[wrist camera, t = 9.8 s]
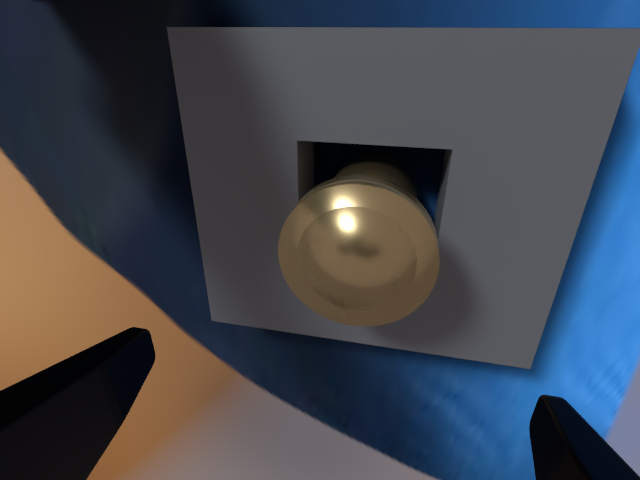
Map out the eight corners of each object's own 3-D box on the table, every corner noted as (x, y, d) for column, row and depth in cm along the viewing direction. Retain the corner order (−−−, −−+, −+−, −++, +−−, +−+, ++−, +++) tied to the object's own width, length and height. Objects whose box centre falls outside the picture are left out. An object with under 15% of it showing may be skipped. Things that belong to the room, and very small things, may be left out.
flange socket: (233, 289, 24) (211, 320, 22) (203, 27, 18) (166, 26, 15) (516, 327, 21) (530, 369, 19) (605, 29, 15) (645, 28, 12)
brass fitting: (320, 234, 21) (280, 315, 15) (321, 130, 19) (274, 178, 13) (424, 244, 20) (427, 336, 14) (440, 137, 18) (452, 192, 12)
